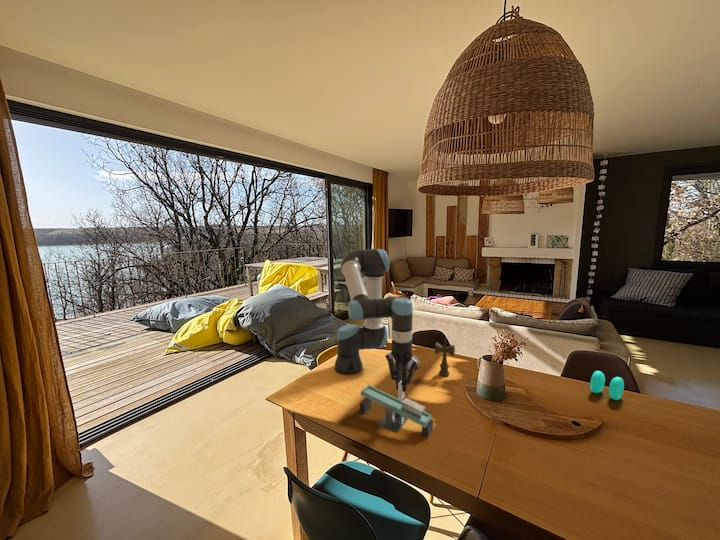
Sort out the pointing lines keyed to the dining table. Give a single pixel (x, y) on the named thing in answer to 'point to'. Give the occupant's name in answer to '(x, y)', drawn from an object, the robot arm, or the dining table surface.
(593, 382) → the teal egg pair
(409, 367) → the decorative stone
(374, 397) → the beam
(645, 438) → the dining table surface
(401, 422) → the stand
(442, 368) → the kendama
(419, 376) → the dining table surface
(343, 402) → the dining table surface
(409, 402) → the block
